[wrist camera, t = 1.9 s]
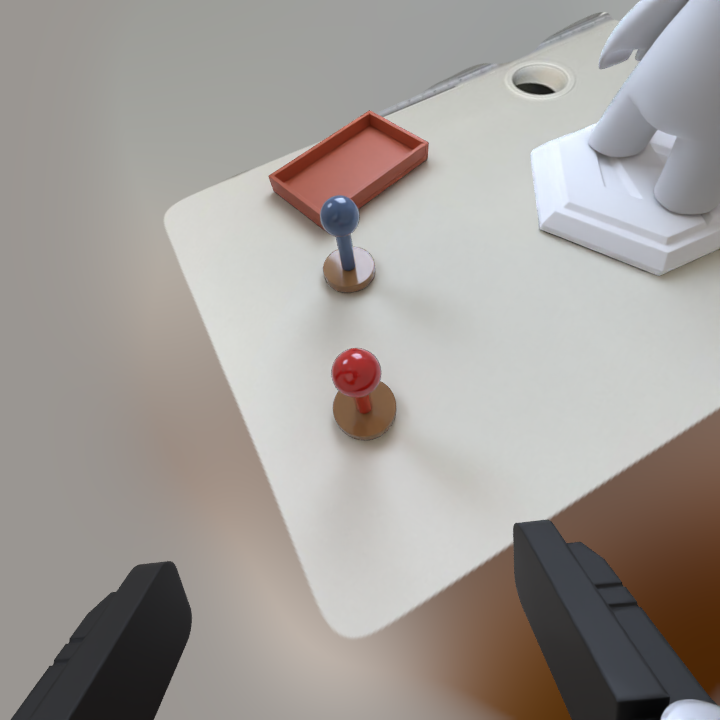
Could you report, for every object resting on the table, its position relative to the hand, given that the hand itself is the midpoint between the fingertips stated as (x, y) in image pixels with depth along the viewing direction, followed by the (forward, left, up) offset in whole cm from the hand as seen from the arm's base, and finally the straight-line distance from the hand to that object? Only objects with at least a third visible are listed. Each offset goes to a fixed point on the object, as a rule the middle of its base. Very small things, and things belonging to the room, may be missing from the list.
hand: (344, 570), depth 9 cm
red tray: (+26, +32, -21) cm, 46 cm away
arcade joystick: (+7, +9, -21) cm, 24 cm away
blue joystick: (+16, +21, -21) cm, 34 cm away
